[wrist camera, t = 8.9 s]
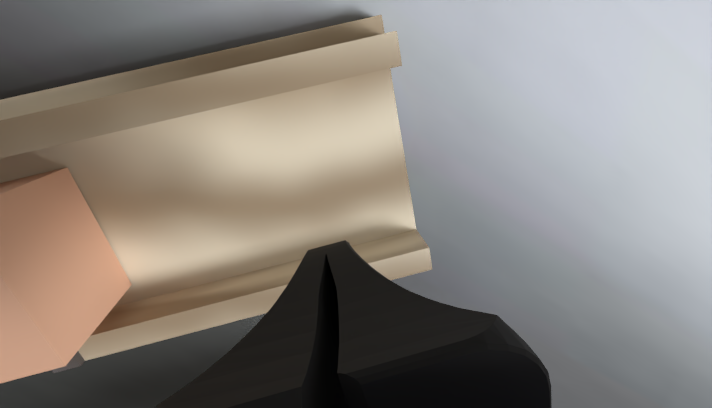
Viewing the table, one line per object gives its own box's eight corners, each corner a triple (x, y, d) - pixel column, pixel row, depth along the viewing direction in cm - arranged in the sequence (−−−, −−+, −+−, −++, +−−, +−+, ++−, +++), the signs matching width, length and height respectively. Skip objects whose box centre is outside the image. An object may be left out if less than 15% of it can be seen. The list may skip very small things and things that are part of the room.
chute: (415, 252, 20) (436, 286, 17) (-19, 366, 18) (-84, 424, 15) (376, 18, 15) (394, 4, 12) (-203, 147, 14) (-348, 169, 11)
